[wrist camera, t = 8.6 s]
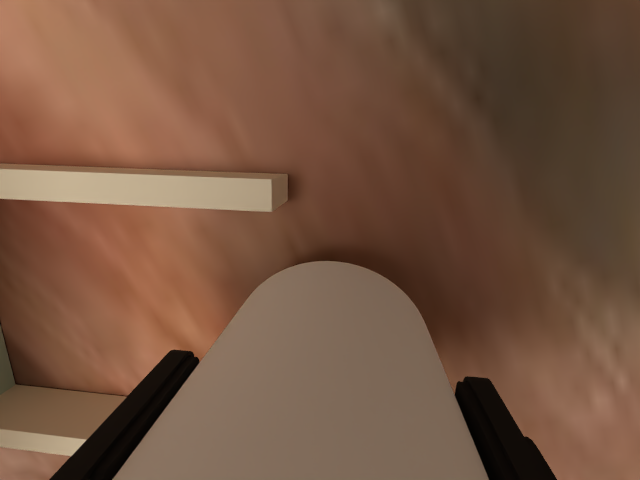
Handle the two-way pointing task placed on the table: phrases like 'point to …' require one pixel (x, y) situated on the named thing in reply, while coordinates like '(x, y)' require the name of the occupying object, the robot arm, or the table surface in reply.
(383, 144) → the table surface
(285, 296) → the can
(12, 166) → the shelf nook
